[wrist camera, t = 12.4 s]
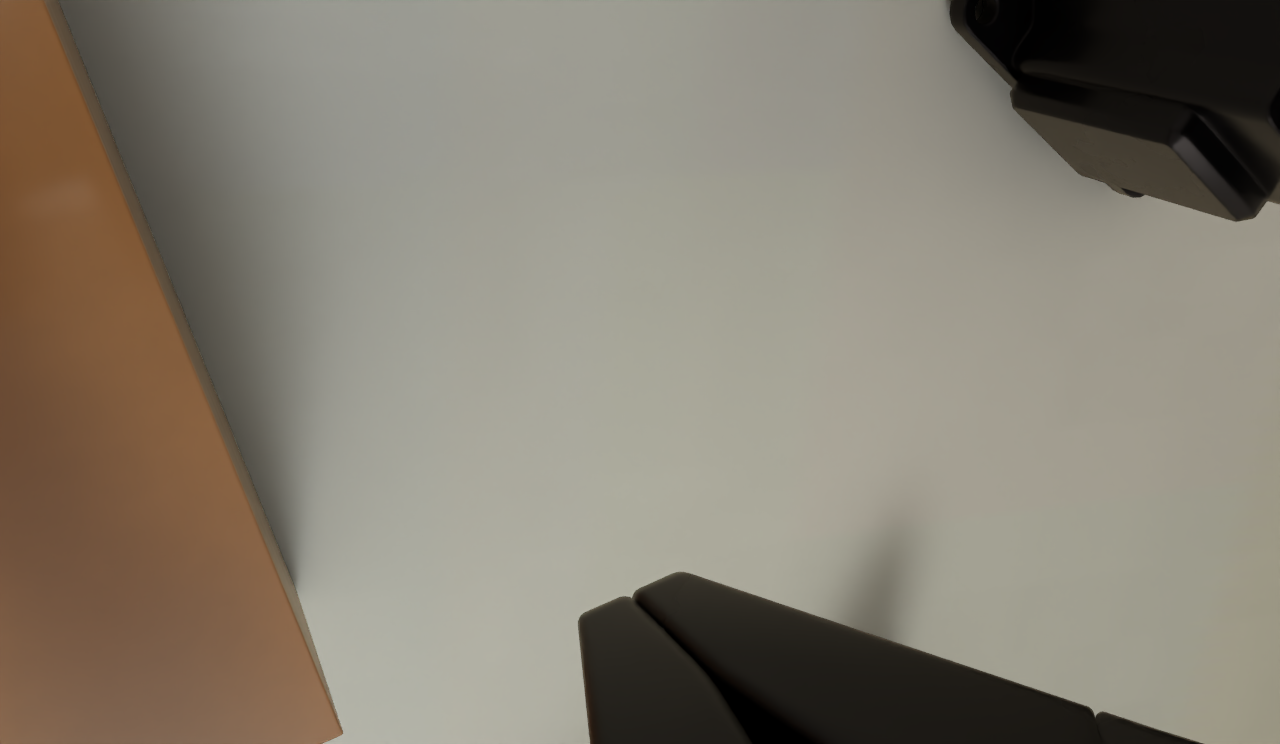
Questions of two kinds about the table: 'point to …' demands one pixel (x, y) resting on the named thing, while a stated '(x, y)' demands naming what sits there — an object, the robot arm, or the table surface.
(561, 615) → the table surface
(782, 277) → the table surface
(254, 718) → the stand
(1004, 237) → the table surface
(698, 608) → the robot arm
